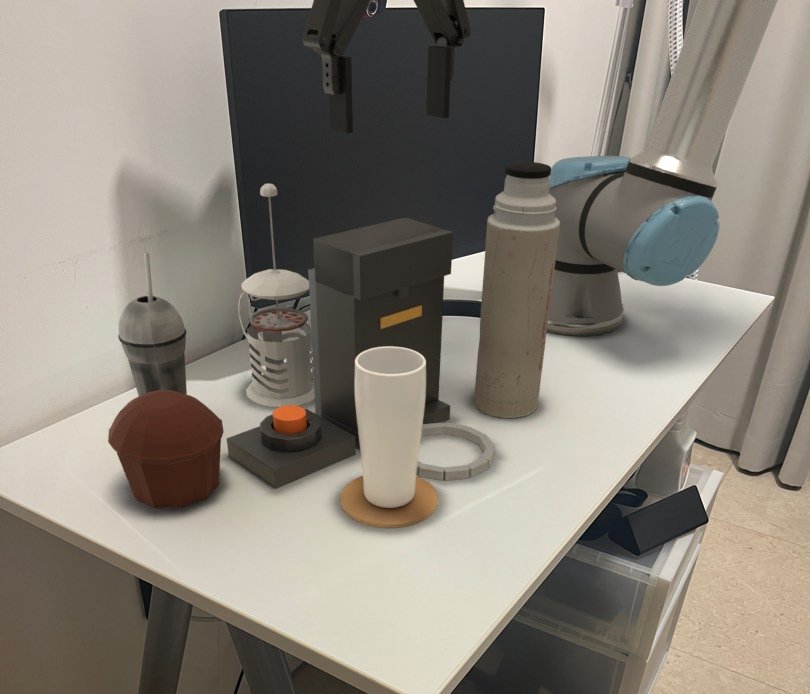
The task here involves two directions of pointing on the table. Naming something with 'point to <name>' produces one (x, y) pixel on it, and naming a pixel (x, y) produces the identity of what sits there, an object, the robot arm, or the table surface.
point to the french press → (278, 336)
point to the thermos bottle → (516, 292)
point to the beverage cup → (154, 342)
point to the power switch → (290, 449)
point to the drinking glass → (389, 421)
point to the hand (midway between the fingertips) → (391, 123)
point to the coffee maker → (383, 321)
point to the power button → (289, 419)
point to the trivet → (389, 517)
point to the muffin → (168, 448)
